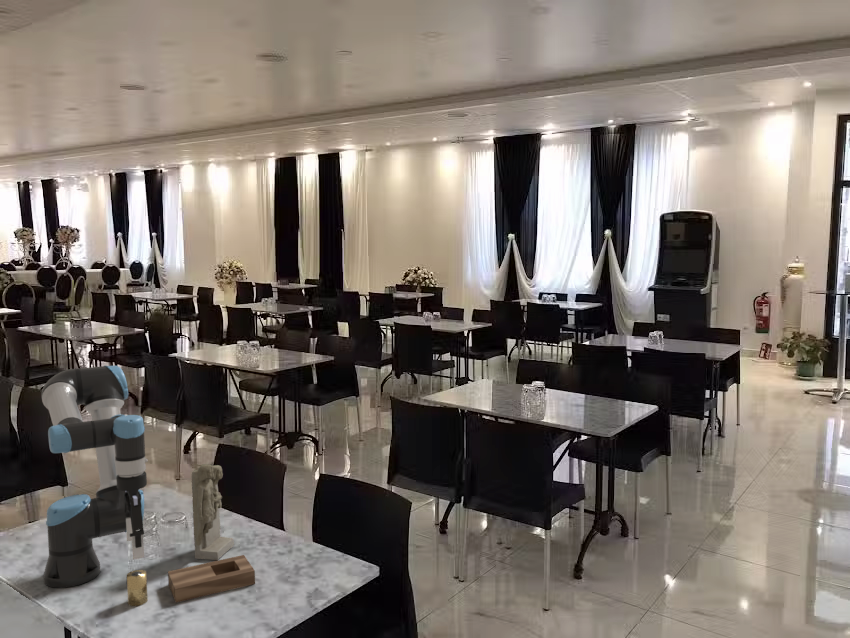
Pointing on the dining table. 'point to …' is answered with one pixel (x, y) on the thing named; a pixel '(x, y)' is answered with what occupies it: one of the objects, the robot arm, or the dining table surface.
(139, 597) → the bushing
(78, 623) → the dining table surface
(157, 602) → the dining table surface
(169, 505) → the dining table surface
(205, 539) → the sculpture
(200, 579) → the block
